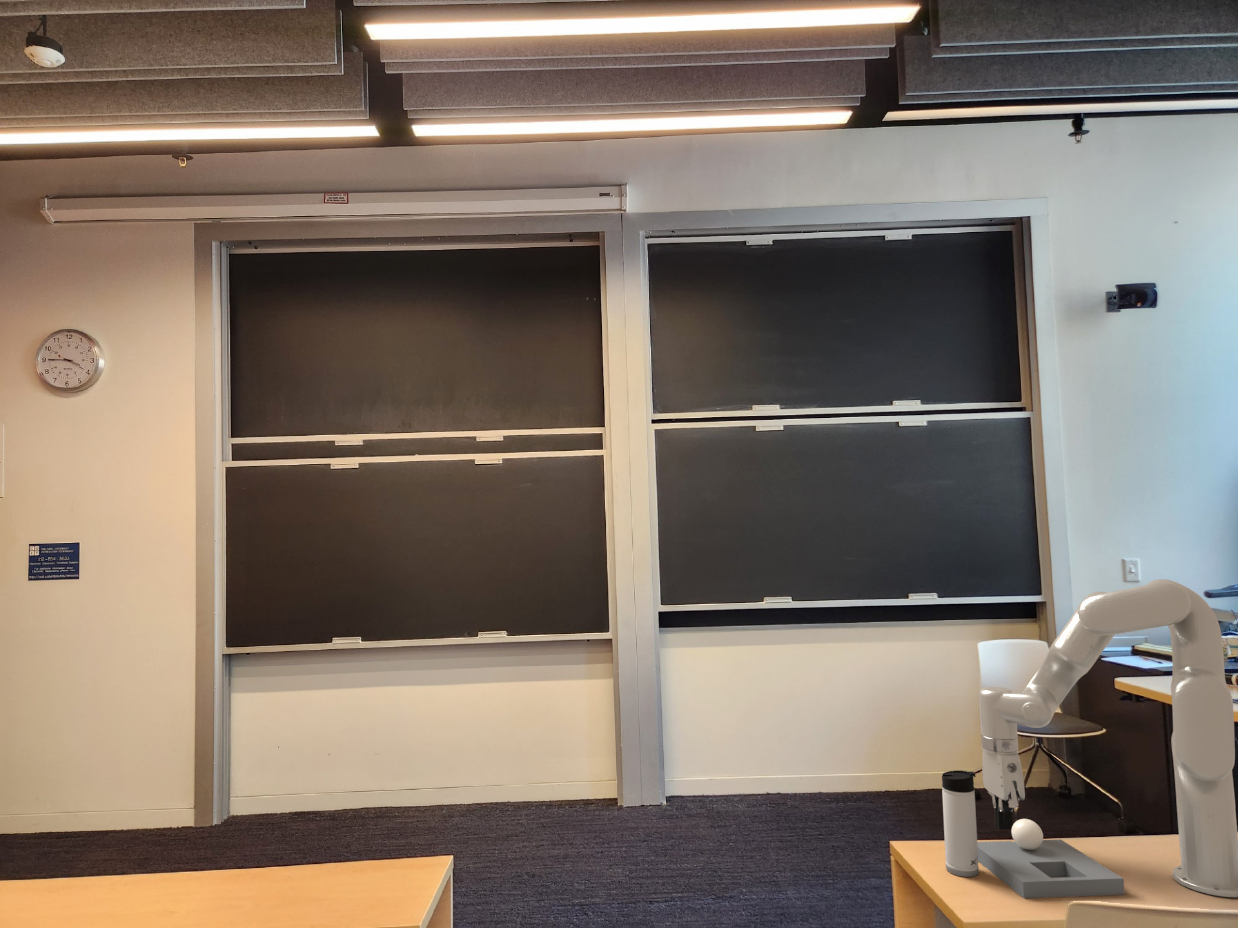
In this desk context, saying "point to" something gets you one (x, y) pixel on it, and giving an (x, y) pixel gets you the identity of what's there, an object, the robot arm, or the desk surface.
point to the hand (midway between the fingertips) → (1004, 827)
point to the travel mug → (960, 823)
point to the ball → (1027, 834)
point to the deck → (1048, 870)
